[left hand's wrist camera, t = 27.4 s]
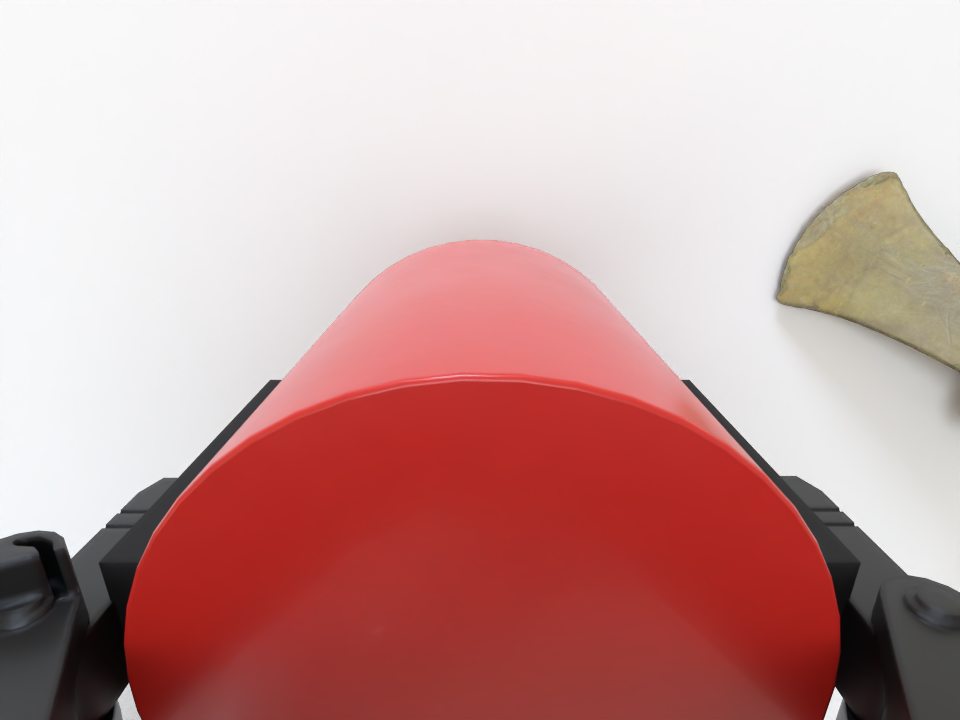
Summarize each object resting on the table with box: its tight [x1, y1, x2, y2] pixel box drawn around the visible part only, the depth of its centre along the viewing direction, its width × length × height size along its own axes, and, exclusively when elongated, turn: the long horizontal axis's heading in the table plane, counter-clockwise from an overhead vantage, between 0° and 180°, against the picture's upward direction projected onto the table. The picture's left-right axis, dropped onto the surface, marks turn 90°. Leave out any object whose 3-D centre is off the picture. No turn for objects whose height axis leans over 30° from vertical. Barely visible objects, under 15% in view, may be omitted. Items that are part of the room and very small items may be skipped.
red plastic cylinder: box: [124, 240, 841, 720], centre depth 11 cm, size 9×9×9 cm
